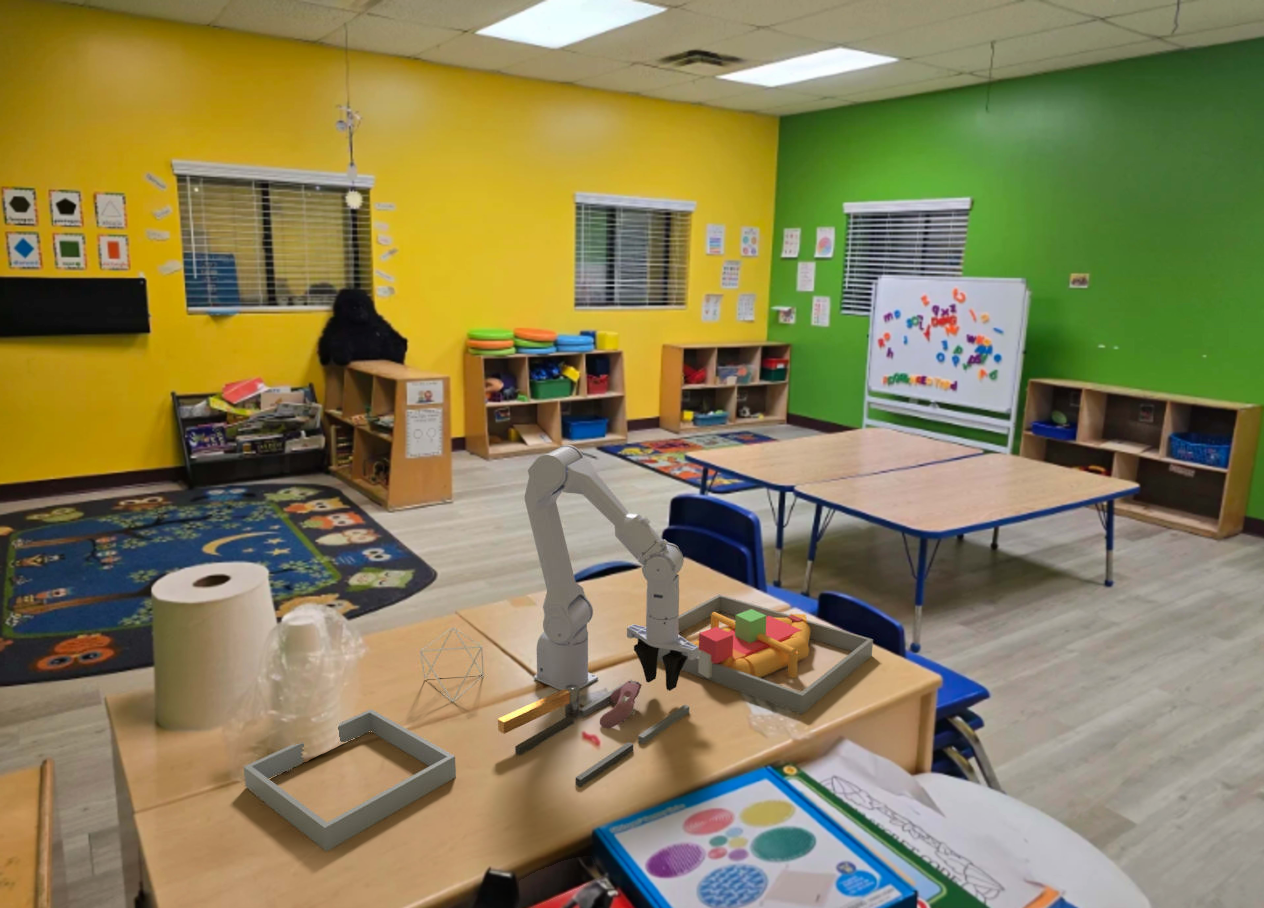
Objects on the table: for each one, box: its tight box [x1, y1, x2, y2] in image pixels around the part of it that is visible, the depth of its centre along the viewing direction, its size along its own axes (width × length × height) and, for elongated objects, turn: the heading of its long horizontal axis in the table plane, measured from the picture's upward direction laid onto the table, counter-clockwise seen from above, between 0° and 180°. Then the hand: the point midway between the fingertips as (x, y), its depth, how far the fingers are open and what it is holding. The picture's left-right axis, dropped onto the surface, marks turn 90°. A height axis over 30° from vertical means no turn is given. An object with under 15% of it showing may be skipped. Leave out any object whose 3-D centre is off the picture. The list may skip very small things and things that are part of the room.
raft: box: [692, 609, 811, 679], centre depth 167 cm, size 23×30×9 cm
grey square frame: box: [243, 708, 457, 852], centre depth 125 cm, size 22×22×4 cm
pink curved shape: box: [599, 679, 643, 729], centre depth 144 cm, size 10×5×7 cm, turn 169°
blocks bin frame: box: [657, 594, 874, 715], centre depth 168 cm, size 37×30×4 cm
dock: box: [514, 681, 690, 788], centre depth 140 cm, size 14×28×1 cm, turn 141°
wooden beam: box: [497, 684, 580, 735], centre depth 139 cm, size 16×2×5 cm, turn 136°
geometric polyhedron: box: [419, 626, 485, 703], centre depth 154 cm, size 12×11×9 cm
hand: (661, 684), depth 151 cm, fingers open, 4 cm apart
